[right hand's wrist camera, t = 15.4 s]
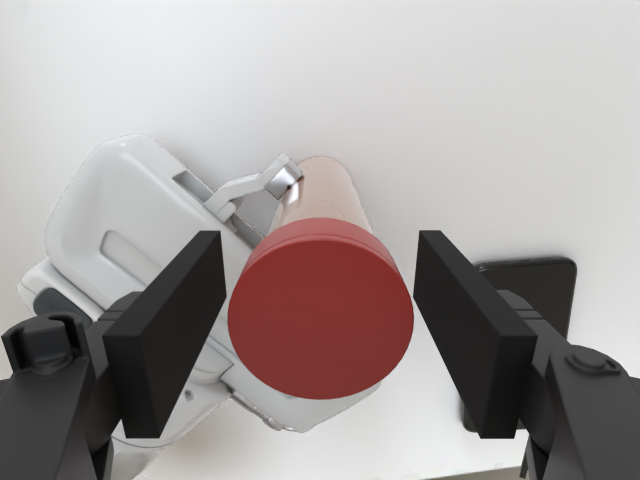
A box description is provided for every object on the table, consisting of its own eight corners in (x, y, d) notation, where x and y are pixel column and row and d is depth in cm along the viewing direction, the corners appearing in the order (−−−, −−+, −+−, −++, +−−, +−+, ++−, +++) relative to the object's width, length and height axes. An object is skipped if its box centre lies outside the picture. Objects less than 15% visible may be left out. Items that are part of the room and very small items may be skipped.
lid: (391, 360, 13) (403, 402, 11) (243, 356, 13) (231, 398, 11) (408, 219, 11) (425, 242, 9) (237, 214, 11) (221, 235, 9)
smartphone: (466, 262, 28) (459, 426, 34) (471, 267, 27) (462, 435, 33) (574, 253, 28) (549, 420, 33) (582, 258, 27) (555, 429, 32)
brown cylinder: (300, 226, 27) (274, 392, 12) (279, 167, 26) (217, 268, 10) (359, 208, 27) (414, 355, 11) (341, 147, 25) (375, 220, 10)
